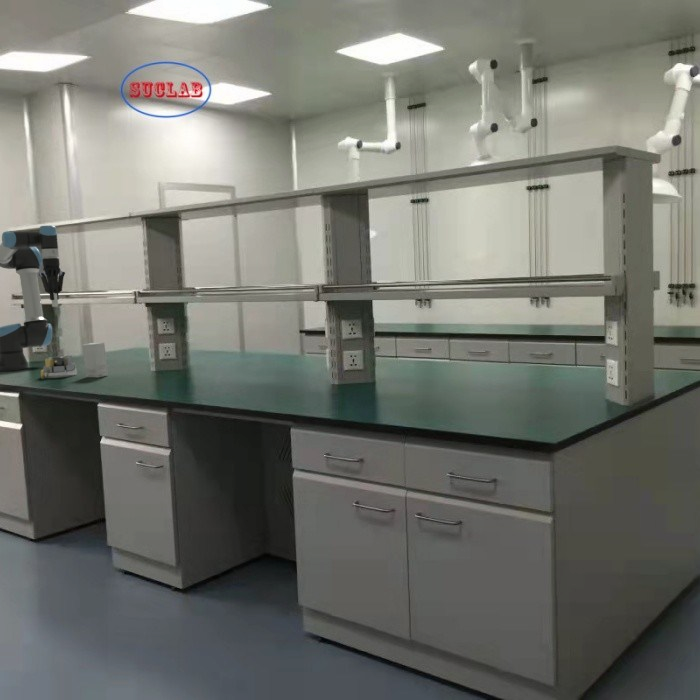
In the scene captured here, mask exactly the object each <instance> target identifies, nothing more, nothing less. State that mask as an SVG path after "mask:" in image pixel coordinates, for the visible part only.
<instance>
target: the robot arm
mask: <svg viewBox="0 0 700 700" xmlns="http://www.w3.org/2000/svg"><path fill="white" fill-rule="evenodd" d="M58 243H59V242H58V232H57V227H56V226H55V225H41V226H39V230H35V231H33V230H30V231H25V230H24V231H13V230H12V231H11V230H9V231H4V232H3V233H2V234H1V243H0V268H2V269H8V270H11V269H12V270H13V269H14V270H15V273H16V274H18V275H19V279H20V286H21V287H20V288H21V294H22V299H23V305H24V306H23V307H24V313H25V320H24V321H23V325H21V323H12V324H6V325H2V326H0V372H11V371H21V370H26V369H28V368H29V362H28V361H27V358H26V355H25V353H24V349H26V348H36V347H41V348H42V347H45V346H49V345H50V344H51V342H52V338H53V326H52V324H51V323H48V319H47V318H45V317H44V311H43V304H42V298H41V292H40V285H39V279H38V276H39V277H40V280H41V281H42V285H43V288H44V291H45V292H46V293H48V294H49V300H50V301H51V307H52V308H57V307H59V301H58V300H60V298H59V294H60V293H61V292H63V287H64V286H63V284H64V277H65V274H66V272H65V271H62V270H61V268H60V258H59V244H58ZM38 248H40V249H41V251H40V250H39V249H38ZM42 267H43V268H42ZM40 268H42V272H40ZM40 301H41V303H40Z"/></svg>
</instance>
